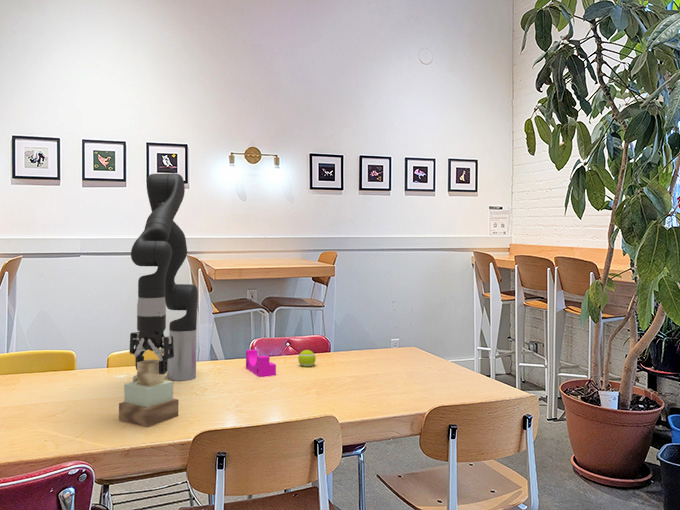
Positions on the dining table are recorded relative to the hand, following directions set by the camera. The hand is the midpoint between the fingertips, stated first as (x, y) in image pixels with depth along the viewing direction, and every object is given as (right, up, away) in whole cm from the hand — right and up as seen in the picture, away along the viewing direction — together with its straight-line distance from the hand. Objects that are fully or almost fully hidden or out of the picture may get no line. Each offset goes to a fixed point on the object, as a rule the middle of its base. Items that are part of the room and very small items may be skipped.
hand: (151, 371), depth 158 cm
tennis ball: (+39, -12, +64) cm, 76 cm away
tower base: (-1, -13, 0) cm, 13 cm away
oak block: (0, -3, 0) cm, 3 cm away
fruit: (-8, -12, +19) cm, 24 cm away
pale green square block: (-1, -8, 0) cm, 8 cm away
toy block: (+23, -12, +55) cm, 60 cm away
